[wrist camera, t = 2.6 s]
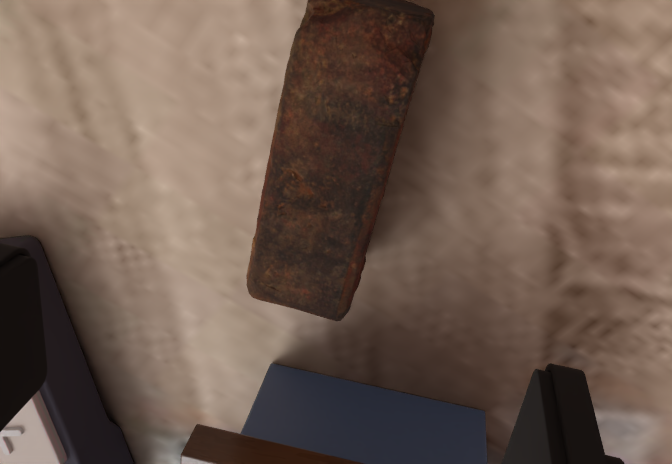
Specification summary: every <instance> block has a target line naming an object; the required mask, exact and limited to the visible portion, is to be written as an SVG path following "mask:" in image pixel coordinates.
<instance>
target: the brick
mask: <svg viewBox="0 0 672 464" xmlns="http://www.w3.org/2000/svg"><path fill="white" fill-rule="evenodd" d="M434 16H435V15H434V13H433V12H432V11H431V10H429V9H426V8H424V7H421V6H418V5H416V4H414V3H410V2H407V1H404V0H308V3H307V8H306V13H305V16H304V18H303V20H302V23H301V26H300V28H299V29H298V30H297V32H296V34H295V38H294V41H293V44H292V48H291V52H290V58H289V61H288V64H287V68H286V73H285V80H284V86H283V91H282V95H281V99H280V104H279V108H278V113H277V118H276V124H275V130H274V135H273V140H272V145H271V150H270V156H269V160H268V165H267V170H266V175H265V182H264V186H263V191H262V197H261V203H260V209H259V215H258V218H257V229H256V233H255V237H254V238H253V243H252V251H251V258H250V263H249V267H248V272H247V288H248V291H249V294H250V295H251V296H252V297H253V298H255V299H258V300H262V301H266V302H270V303H274V304H278V305H282V306H286V307H290V308H294V309H297V310H301V311H304V312H307V313H311V314H314V315H317V316H321V317H324V318H328V319H331V320H335V321H341V320H342V319H343V318H344V316H345V315H346V314H347V313H348V311H349V309H350V307H351V303H352V300H353V297H354V293H355V291H356V290H357V288H358V285H359V282H360V279H361V273H362V270H363V268H364V265H365V262H366V256H365V255H366V252H367V247H368V244H369V242H370V241H369V240H370V237H371V234H372V231H373V227H374V224H375V220H376V217H377V213H378V210H379V206H380V203H381V201H382V198H383V196H384V191H385V186H386V183H387V179H388V176H389V173H390V170H391V166H392V163H393V159H394V156H395V152H396V148H397V145H398V142H399V139H400V135H401V132H402V129H403V125H404V121H405V117H406V114H407V110H408V107H409V104H410V101H411V98H412V94H413V92H414V88H415V85H416V81H417V77H418V74H419V70H420V67H421V64H422V60H423V57H424V54H425V52H426V51H427V49H428V47H429V43H430V38H431V34H432V27H433V25H434Z"/></svg>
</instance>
